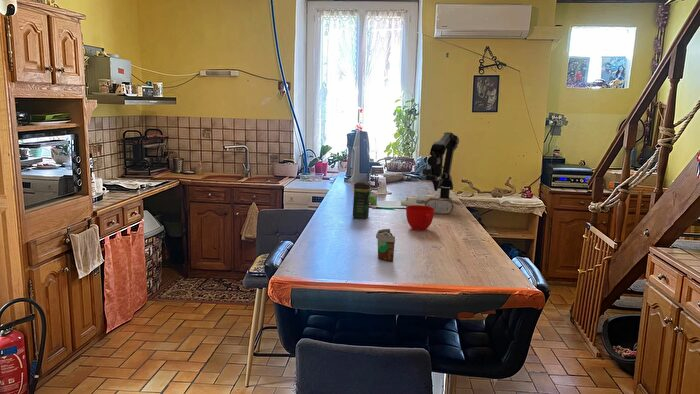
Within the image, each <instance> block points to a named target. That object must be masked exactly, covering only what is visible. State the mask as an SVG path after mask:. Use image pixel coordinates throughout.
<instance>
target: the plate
mask: <svg viewBox="0 0 700 394" xmlns="http://www.w3.org/2000/svg"><path fill="white" fill-rule="evenodd" d="M410 197H415V198H416V201H417V203H418V202H419V203H418V204H421V203H423V204H424V202H426V201H427V200H425V199H426V197H423V196H422V197H421V196H415V195H412V196H410ZM406 199H408V197H406ZM420 202H421V203H420Z"/></svg>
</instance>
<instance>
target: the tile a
mask: <svg viewBox="0 0 700 394" xmlns="http://www.w3.org/2000/svg"><path fill="white" fill-rule="evenodd" d="M415 197H416V196H415ZM415 197H411V196H408V197H407V198H408V202H412V203H416V198H415Z"/></svg>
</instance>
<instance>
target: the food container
mask: <svg viewBox="0 0 700 394" xmlns="http://www.w3.org/2000/svg"><path fill="white" fill-rule="evenodd" d="M375 238H376V240H377V259H378V260H380V261H382V262H387V263H393V262H394V258H395V257H394V254H395V243H396V236H394V235H393V233H392V232H391V228H383V229H379V230H377V232H376V236H375Z"/></svg>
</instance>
